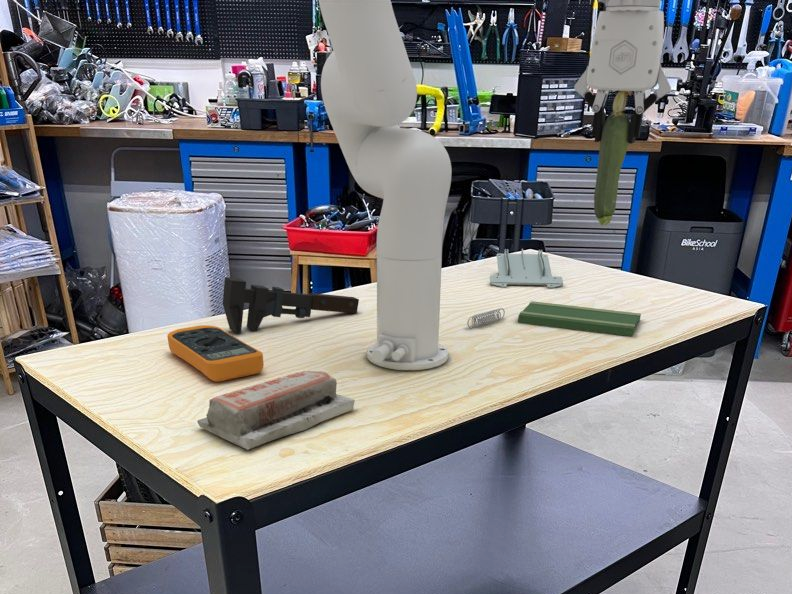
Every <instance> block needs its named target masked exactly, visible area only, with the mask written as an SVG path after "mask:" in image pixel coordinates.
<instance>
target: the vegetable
mask: <svg viewBox="0 0 792 594" xmlns="http://www.w3.org/2000/svg"><path fill="white" fill-rule="evenodd" d="M628 96H629V97H631V96H632V91H619V90H618V92H617V94H616V95H615V97H614V99H613V103H612V112H611V114H609V116H607V118H605V123H604V126H603V129H602V134H601V141H599V150H598V151H599V152H598V162H597V171H596V180H595V187H594V194H593V204H594V205H593V210H594V215H595V217H596V218H597V220H598V224H599V225H600V226H601V227H603V226H606V225H608V224H610V223H611V221H612V219H613V215H614V214H615V212H616V206H617V198H618V190H619V180H620V179H619V178H620V174H621V169H622V167H623V164H624V162H625V161H624V160H625V158H626V154H627V151H628V148H629V147H628V146H629V143H628V135H629V128H630V121H631V120H630V118H629V116H628V115H627V113H625V111H626V110H627V108H626V106H627V100H628Z"/></svg>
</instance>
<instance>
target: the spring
mask: <svg viewBox="0 0 792 594" xmlns="http://www.w3.org/2000/svg"><path fill="white" fill-rule="evenodd" d="M501 310H502V311H503V314H502V313H501V312H500V311H501ZM505 312H506V311H505V309H504V308H502V307H501V308H496V309H492V310H489V311H485V312H481V313H478V314H474V315H471V316H470V317H469V318H468V320H467V327H468V328H469V329H472V328H473V327H475V328H477V327H478V328H479V327H481V326H484V325H488V324H491V323H495V322H498V321H500V320H502V319H504V317H505V314H506V313H505ZM470 320H471V324H472V326H470Z"/></svg>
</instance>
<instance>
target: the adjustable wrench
mask: <svg viewBox="0 0 792 594" xmlns="http://www.w3.org/2000/svg"><path fill="white" fill-rule="evenodd" d="M284 290H285V289H284V288H282V287H279V286H272V288H271V290H270V288H268V287H266V286H264V285H259V284H250V288H247V281H246V280H243V279H241V278H238V277H228V276H225V277H224V284H223V294H222V307H223V310H224V315H225V316H226V317H225V318H226V320H227V324H228V328H229V330H231V331H232V332H233V333H235V334H242V329H243V328H242V327H243V318H244V317H243V315H244V310H245V309H244V308H245V304H248V310H247V320H246V328H247V329H249V330H250V331H252V332H258V329H259V327H260V326H261V323H262V321H263V320H264V318H266V317H269V316H271V317H273V318H281V315H290V316H291V315H294V316H295V318H297V319H304V318H311V315H312V314H311V313H312V311H318V312H319V311H321V312H333V313H345V314H346V313H347V314H358V309H359V303H360V299H359V298H357V297H354V296H348V295H347V296H346V295H335V294H326V293H315V292H308V293H299V292H289V291H288V292H287V291H284ZM284 307H291V308H284Z"/></svg>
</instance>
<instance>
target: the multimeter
mask: <svg viewBox="0 0 792 594" xmlns="http://www.w3.org/2000/svg"><path fill="white" fill-rule="evenodd" d="M167 342H168V343H167V344H168V348H169V350H170V352H171V353H172V354H174V355H175V356H177V357H179V358H180V359H182V360H183V361H185V362H186V363H188V364H190V365H191V366H192V367H194V368H195V369H196V370H198V371H199V372H201V373H202V374H203V375H204V376H206V377H207V378H208V379H209V380H210V381H213V382H216V383H220V382H224V381H229V380H234V379H239V378H243V377H248V376H252V375H253V376H254V375H257V374H260V373H262V371H263V370H264V354H263V352H262V351H260V350H259V349H257V348H255V347H253V346H251V345H249V344H247V343H246V342H245V341H243V340H241V339H239V338H237V337H235V336H234V335H232V334H231V333H229V332H227V331H225V330H224V329H223V328H221V327H219V326H216V325H208V324H207V325H205V324H204V325H201V324H200V325H194V326H189V327H183V328H177V329H175V330H172V331H170V332H168V333H167Z"/></svg>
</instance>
